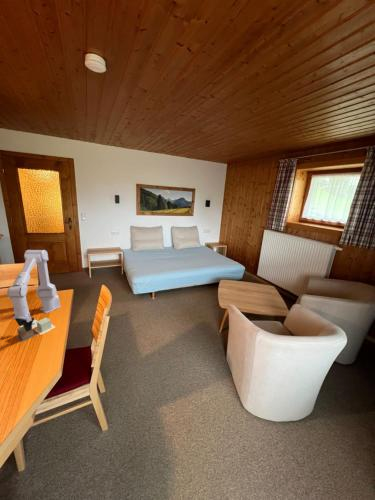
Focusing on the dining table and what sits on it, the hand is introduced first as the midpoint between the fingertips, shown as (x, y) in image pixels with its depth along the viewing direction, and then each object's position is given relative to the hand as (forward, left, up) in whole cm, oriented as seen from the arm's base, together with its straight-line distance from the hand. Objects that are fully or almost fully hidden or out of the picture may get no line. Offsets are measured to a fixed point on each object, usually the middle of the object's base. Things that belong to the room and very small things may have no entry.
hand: (25, 327), depth 109 cm
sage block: (-8, +2, -5) cm, 10 cm away
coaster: (0, 0, -5) cm, 5 cm away
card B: (-8, +2, -5) cm, 10 cm away
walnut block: (0, 0, -5) cm, 5 cm away
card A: (-5, -8, -5) cm, 11 cm away
